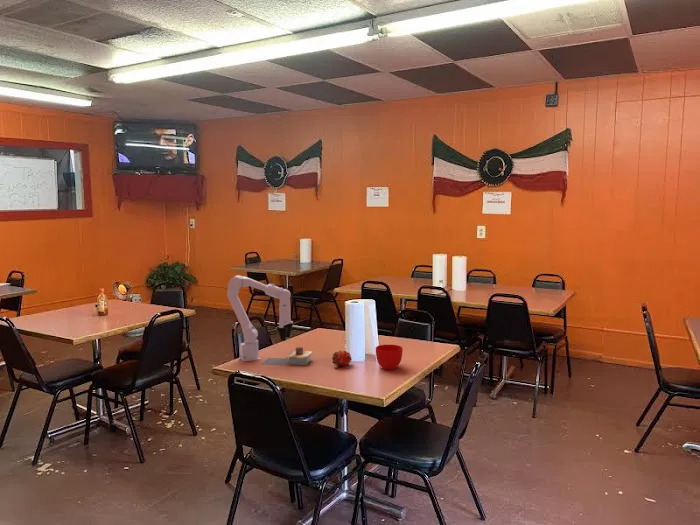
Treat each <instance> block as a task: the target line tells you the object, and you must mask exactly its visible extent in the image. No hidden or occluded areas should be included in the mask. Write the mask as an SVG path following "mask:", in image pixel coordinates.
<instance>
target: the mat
mask: <svg viewBox="0 0 700 525" xmlns="http://www.w3.org/2000/svg"><path fill="white" fill-rule="evenodd" d="M262 365H263V366H264V365H265V366H287V365H289V358H286V357H268V358H266V359H265V360H264V361H263V362H261V363H260V366H262Z"/></svg>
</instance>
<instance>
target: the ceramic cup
mask: <svg viewBox="0 0 700 525" xmlns="http://www.w3.org/2000/svg"><path fill="white" fill-rule="evenodd" d="M375 356H376V361H377V362H378V365H379V366H380V368H382V369H383V370H385V369H386V371H393V370H396V369H397V367H398V366H399V365H400V364H401V361H402V358H403V346H401V345H398V344H380V345H377V346H375ZM395 368H396V369H395ZM392 369H393V370H392Z"/></svg>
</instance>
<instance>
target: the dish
mask: <svg viewBox="0 0 700 525" xmlns="http://www.w3.org/2000/svg"><path fill="white" fill-rule="evenodd" d="M311 360H312V354H311V355H310V356H309V358H289V363H288V365H296V366H297V365H299V366H307V365H308V364H309V363H310V362H311Z"/></svg>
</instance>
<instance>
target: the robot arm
mask: <svg viewBox="0 0 700 525" xmlns="http://www.w3.org/2000/svg"><path fill="white" fill-rule="evenodd" d="M246 287H252V288H254V289H257V290H261V291H263V292H264V294H265V295H267V296H269V297H272V298H275V299H278V300H279V305H278V306H279V307H278V308H279V310H278V311H279V313H278V314H279V321H278V326H277V327H276V330H277V331H278V334H279V338H280V341H281V342H282V341H283V342H285V341H286V340H287V338H290V336H291V332H292V328H293V326H294V321H293V320H292V318H291V313H292V312H291V310H292V308H291V295H292V294H291V291H290V290H289V289H287V288H283V287H279V286H277V285H275V283H268V284H264V283H263V282H260V281H258V280H255V279H252V278H250V277H247V276H243V275H240V274H236V275H234V277H231V278H230V280H229V281H228V283H227V291H226V296H227V299H228V301H229V303H230V306H231V307H232V310H233V311H234V314H235V316H236V318H237V321H238V323H239V324H240V326H241V331H242V335H243V342H241V343H239V345H238V346H239V349H238V350H239V357H238V359H239V360H241V361H242V362H248V361H256V360H262V359H261V357H259V340H258V337H259V331H258V330H257V328H255V327H254V325H253V324H252V322H251V321H250V319H249V317H248V315H247V313H246V310H245V308H244V306H243V303H242V302H241V300H240V299H241V298H239V292H240V290H241V288H246Z"/></svg>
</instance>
